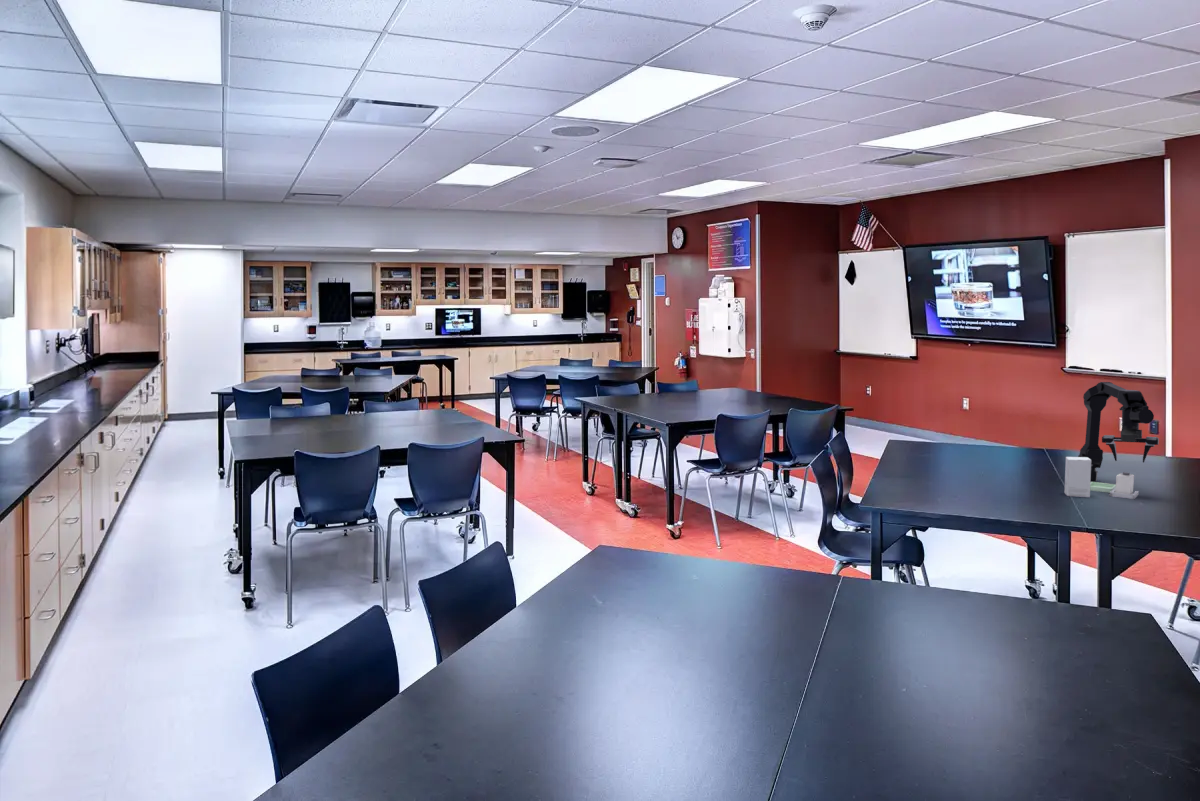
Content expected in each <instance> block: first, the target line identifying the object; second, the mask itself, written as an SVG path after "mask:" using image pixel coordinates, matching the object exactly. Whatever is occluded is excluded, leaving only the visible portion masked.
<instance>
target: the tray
mask: <svg viewBox="0 0 1200 801" xmlns="http://www.w3.org/2000/svg"><path fill="white" fill-rule="evenodd" d="M1113 489H1116V483H1106V482H1098V481H1095V482H1090V492H1091V491H1092V492H1098V493H1100V492H1101V493H1109V492H1110V491H1112V490H1113Z"/></svg>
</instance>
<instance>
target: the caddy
mask: <svg viewBox="0 0 1200 801" xmlns="http://www.w3.org/2000/svg"><path fill="white" fill-rule="evenodd" d="M1134 481H1135V474H1131V473H1130V472H1128V471H1127V472H1126V471H1123V472H1122V473H1118V474H1117V475H1116V477H1115V484H1116V491H1115V493H1122V494H1131V495H1132V494H1133V493H1134V483H1135V482H1134Z"/></svg>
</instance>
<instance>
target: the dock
mask: <svg viewBox="0 0 1200 801" xmlns="http://www.w3.org/2000/svg"><path fill="white" fill-rule="evenodd" d="M1115 491H1116V489H1113V490H1112V491H1110V492H1109V494H1108V496H1109V497H1114V498H1121V499H1122V498H1124V499H1130V500H1135V499H1136V498H1137V497H1138V496H1139V490H1135V491H1133V494H1132V495H1131V494H1122V493H1115Z"/></svg>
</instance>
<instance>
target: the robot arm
mask: <svg viewBox="0 0 1200 801" xmlns="http://www.w3.org/2000/svg"><path fill="white" fill-rule="evenodd" d="M1111 397H1113V398H1116V399H1117V400H1116V401H1117V402H1118V403H1119V404H1120V405H1122V406H1121V407H1120V408H1119V410H1118V411H1121V431H1120V437H1119V436H1117V437H1116V435H1113V434H1111V435H1110V434H1105V435H1103V436H1101V443H1104V444H1105V445H1106V446H1109V448H1110V450H1111V452H1112V456H1113V459H1114V460H1115V462H1118V455H1117V444H1116V442H1120V443H1138V444H1139V443H1140V444H1141V443H1143V444H1145V445H1144V450H1143V455H1142V463H1145V461H1146V458H1147V456H1148V454H1149V452H1150V450H1151V448H1154V447H1155V446H1157V445H1158V446H1159V444H1160V443H1159V441H1160V439H1159V437H1158V436H1145V437H1143V430H1142V429H1140V424H1143V425H1144V424H1145V425H1146V424H1147V425H1148V424H1150V423H1152V422H1153V420H1154V418H1155V414H1154V412H1153V411H1152V410H1151V409H1150V407H1149V406H1148V403H1147V401H1146V400H1145V398H1144V395H1143V393H1142V392H1141V391H1140V390H1136V389H1126V388H1124V387H1121V386H1119V385H1117V384H1114V383H1113V382H1110V381H1100V382H1098V383H1097V384H1095V385H1094V386H1091V387H1090V388H1088V389H1087V390H1086V391H1085V392H1084V394H1083V397H1082V398H1083V404H1084V405H1083V406H1084V407H1085V408H1086V410H1087V416H1086V417H1087V418H1086V428H1085V441H1084V444H1083V445H1082V446H1081V448H1080V449H1079V450H1080V451H1079V453H1078V456H1077V457H1088V458H1089V459H1091V460H1092V461H1091V480H1090V483H1091V482H1097V481H1098V473H1099V472H1098V470H1097V468H1098V469H1100V468H1101V466H1102V464H1103V459H1104V457H1103V456H1104V455H1103V454H1104V449H1102V448H1101V447H1100V445H1099V441H1100V427H1101V417H1102V411H1103V410H1104V409H1105V407H1106V406H1107V403H1108V402H1107V401H1108V400H1109V398H1111Z"/></svg>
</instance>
